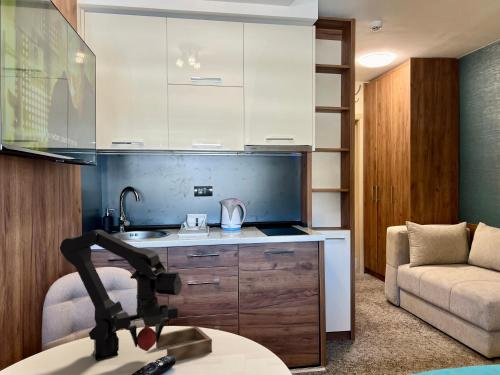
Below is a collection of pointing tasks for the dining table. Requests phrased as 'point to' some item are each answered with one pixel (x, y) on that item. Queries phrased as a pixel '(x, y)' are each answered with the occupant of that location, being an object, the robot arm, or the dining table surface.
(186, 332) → the ball
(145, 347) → the onion
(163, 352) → the dining table surface
